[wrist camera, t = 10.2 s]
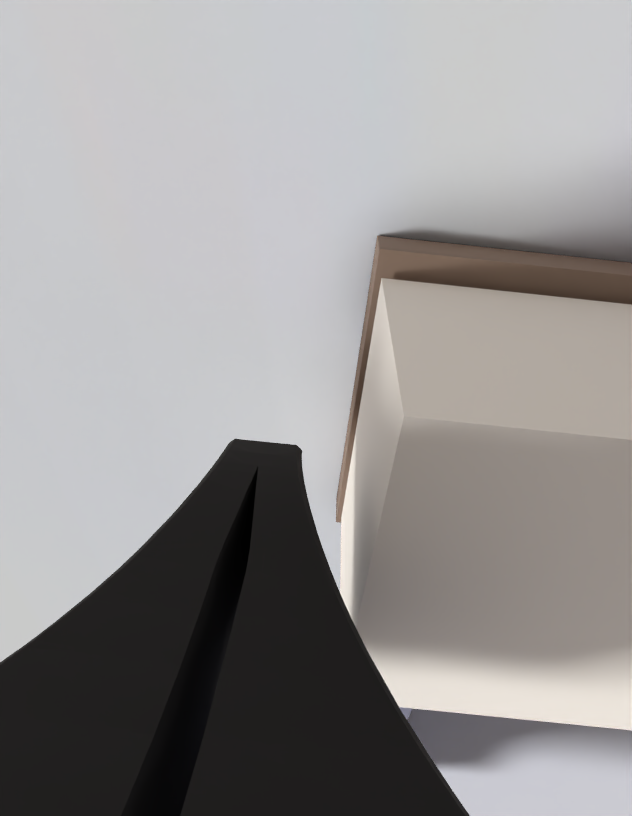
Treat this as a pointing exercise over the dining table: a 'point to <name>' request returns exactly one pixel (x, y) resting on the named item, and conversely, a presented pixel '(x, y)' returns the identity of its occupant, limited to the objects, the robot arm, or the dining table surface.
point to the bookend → (495, 504)
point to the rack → (484, 273)
